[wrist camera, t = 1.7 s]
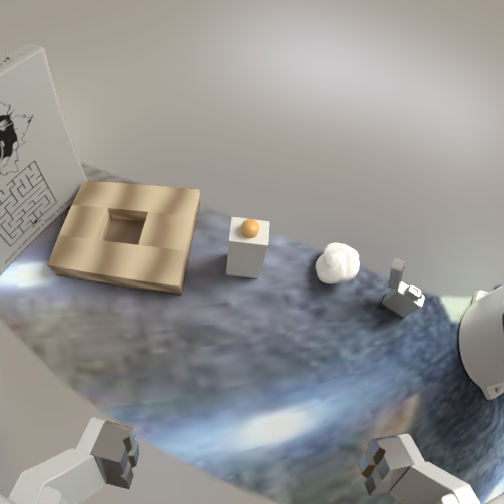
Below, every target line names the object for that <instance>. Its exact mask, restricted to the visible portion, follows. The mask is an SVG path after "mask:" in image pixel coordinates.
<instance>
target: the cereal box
mask: <svg viewBox="0 0 504 504" xmlns="http://www.w3.org/2000/svg"><path fill="white" fill-rule="evenodd" d="M83 181H87V178H86V176H85V173H84V171H83V168H82V166H81V163H80V161H79V158H78V156H77V153H76V150H75V148H74V145H73V142H72V140H71V137H70V134H69V131H68V128H67V126H66V122H65V120H64V117H63V113H62V110H61V107H60V104H59V101H58V98H57V94H56V91H55V88H54V84H53V81H52V77H51V74H50V70H49V66H48V62H47V58H46V54H45V49H44V48H43V47H39V46H34V45H30V44H25V45H23V46H21V47H20V48H18V49H16V50H15V51H13V52H11V53H10V54H8V55H6V56H5V57H3V58H2V59H0V275H1V274H2V273H3V272H4V271H5V270H6V269H7V267H8V266H9V265H10V264H11V263H12V262H13V261H14V260H15V259H16V258H17V257H18V256H19V254H20V253H21V252H22V251H23V250H24V249H25V248H26V247H27V246H28V245H29V244H30V243H31V242H32V241H33V240H34V239H35V238H36V237H37V236H38V235H39V234H40V233H41V232H42V231H43V230H44V229H45V228H46V227H48V226H49V225H50V224H51V223H52V222H53V221H54V220H55V219H56V218H57V217H58V216H59V215H60V214H62V213H63V212H64V211H65V210H66V209H67V208H68V207H69V206H71V205H72V204H73V201H74V199H75V197H76V195H77V193H78V191H79V189H80V187H81V185H82V183H83Z"/></svg>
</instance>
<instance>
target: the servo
mask: <svg viewBox="0 0 504 504" xmlns="http://www.w3.org/2000/svg"><path fill="white" fill-rule="evenodd" d="M268 238H269V221H261V220H254V219H245V218H237V217H232V221H231V229H230V236H229V245H228V257H227V268H226V275H234V276H243V277H252V278H258V276H259V273H260V270H261V267H262V264H263V260H264V257H265V254H266V251H267V247H268Z"/></svg>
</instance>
